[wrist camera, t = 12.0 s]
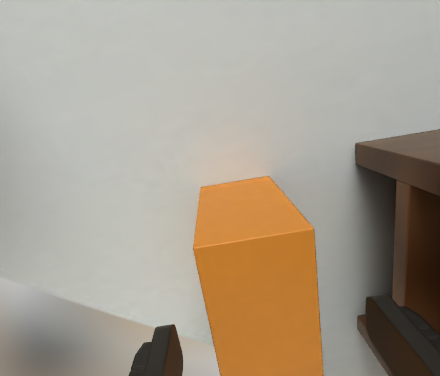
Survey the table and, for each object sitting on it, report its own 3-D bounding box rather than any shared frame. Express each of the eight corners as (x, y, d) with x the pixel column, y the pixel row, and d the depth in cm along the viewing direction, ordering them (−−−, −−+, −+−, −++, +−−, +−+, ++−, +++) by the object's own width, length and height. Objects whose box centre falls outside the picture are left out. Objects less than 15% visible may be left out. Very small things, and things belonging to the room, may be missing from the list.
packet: (200, 187, 18) (192, 247, 10) (269, 175, 18) (314, 228, 10) (221, 298, 20) (228, 415, 13) (281, 289, 20) (325, 400, 12)
